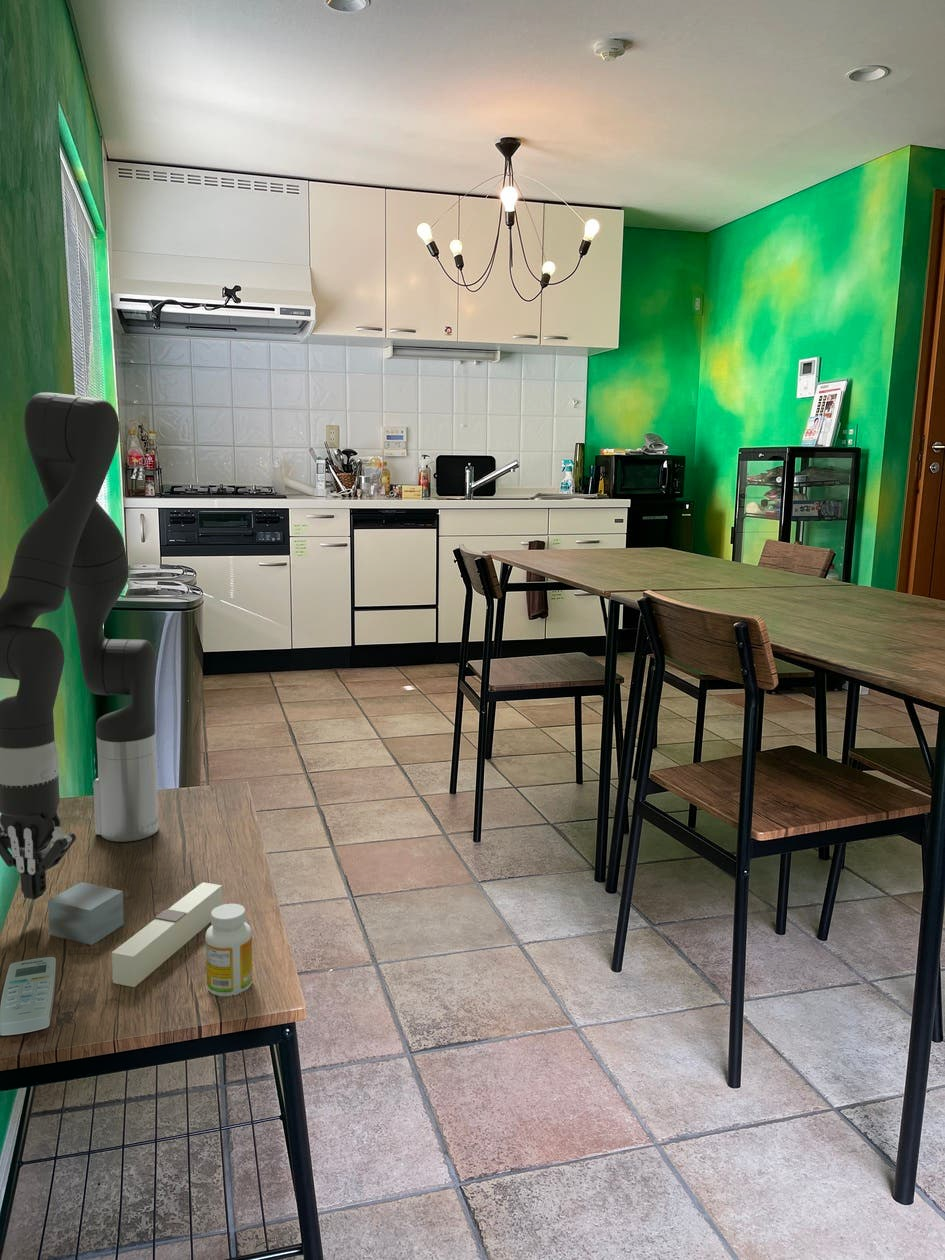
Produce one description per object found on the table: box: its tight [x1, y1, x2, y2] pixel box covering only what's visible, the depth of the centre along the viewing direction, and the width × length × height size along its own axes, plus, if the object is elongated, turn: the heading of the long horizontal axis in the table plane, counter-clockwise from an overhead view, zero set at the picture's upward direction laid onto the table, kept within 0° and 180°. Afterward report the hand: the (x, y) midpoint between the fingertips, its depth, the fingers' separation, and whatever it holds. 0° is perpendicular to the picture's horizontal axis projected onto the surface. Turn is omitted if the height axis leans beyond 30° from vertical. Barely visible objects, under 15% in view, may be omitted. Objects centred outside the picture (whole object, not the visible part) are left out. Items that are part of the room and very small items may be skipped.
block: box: [47, 881, 125, 946], centre depth 123 cm, size 7×6×5 cm
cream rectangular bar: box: [111, 882, 223, 988], centre depth 120 cm, size 3×20×4 cm, turn 164°
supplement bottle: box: [205, 903, 253, 997], centre depth 110 cm, size 5×5×10 cm
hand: (34, 896), depth 125 cm, fingers closed
